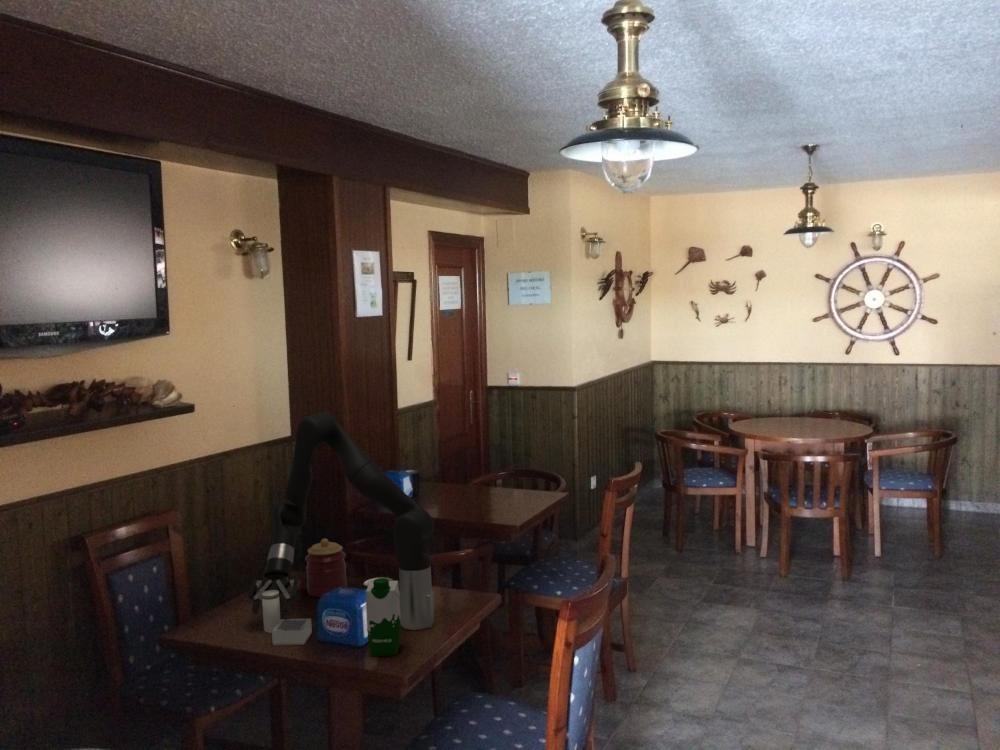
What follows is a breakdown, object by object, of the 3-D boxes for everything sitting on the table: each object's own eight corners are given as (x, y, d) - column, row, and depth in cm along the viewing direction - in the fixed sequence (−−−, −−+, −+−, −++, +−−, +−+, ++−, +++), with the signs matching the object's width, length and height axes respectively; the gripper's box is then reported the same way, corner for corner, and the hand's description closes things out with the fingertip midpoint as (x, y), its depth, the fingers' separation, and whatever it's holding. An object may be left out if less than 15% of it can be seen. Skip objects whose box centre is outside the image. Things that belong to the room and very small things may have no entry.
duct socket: (311, 632, 238) (311, 618, 237) (303, 644, 229) (302, 630, 229) (282, 633, 238) (281, 619, 238) (272, 645, 229) (271, 630, 229)
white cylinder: (283, 626, 243) (281, 589, 242) (278, 632, 238) (276, 595, 237) (266, 626, 243) (264, 590, 242) (261, 633, 238) (259, 595, 238)
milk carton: (366, 658, 219) (362, 584, 217) (371, 644, 228) (368, 573, 226) (399, 656, 219) (396, 582, 217) (403, 643, 228) (400, 571, 226)
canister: (319, 601, 263) (316, 546, 262) (300, 591, 273) (297, 539, 271) (355, 591, 272) (352, 538, 270) (335, 582, 281) (332, 531, 280)
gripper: (253, 556, 247) (241, 608, 237) (300, 555, 246) (291, 607, 236) (260, 568, 253) (249, 619, 242) (306, 567, 252) (297, 618, 242)
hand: (270, 613), depth 239 cm, fingers open, 8 cm apart
